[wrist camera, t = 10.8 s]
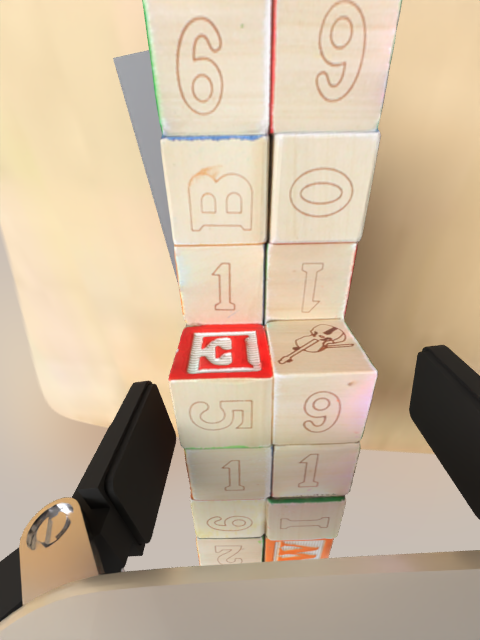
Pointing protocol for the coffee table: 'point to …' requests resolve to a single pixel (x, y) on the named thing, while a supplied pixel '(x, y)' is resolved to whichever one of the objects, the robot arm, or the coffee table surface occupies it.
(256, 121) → the stack of blocks
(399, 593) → the robot arm
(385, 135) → the coffee table surface
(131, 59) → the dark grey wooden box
